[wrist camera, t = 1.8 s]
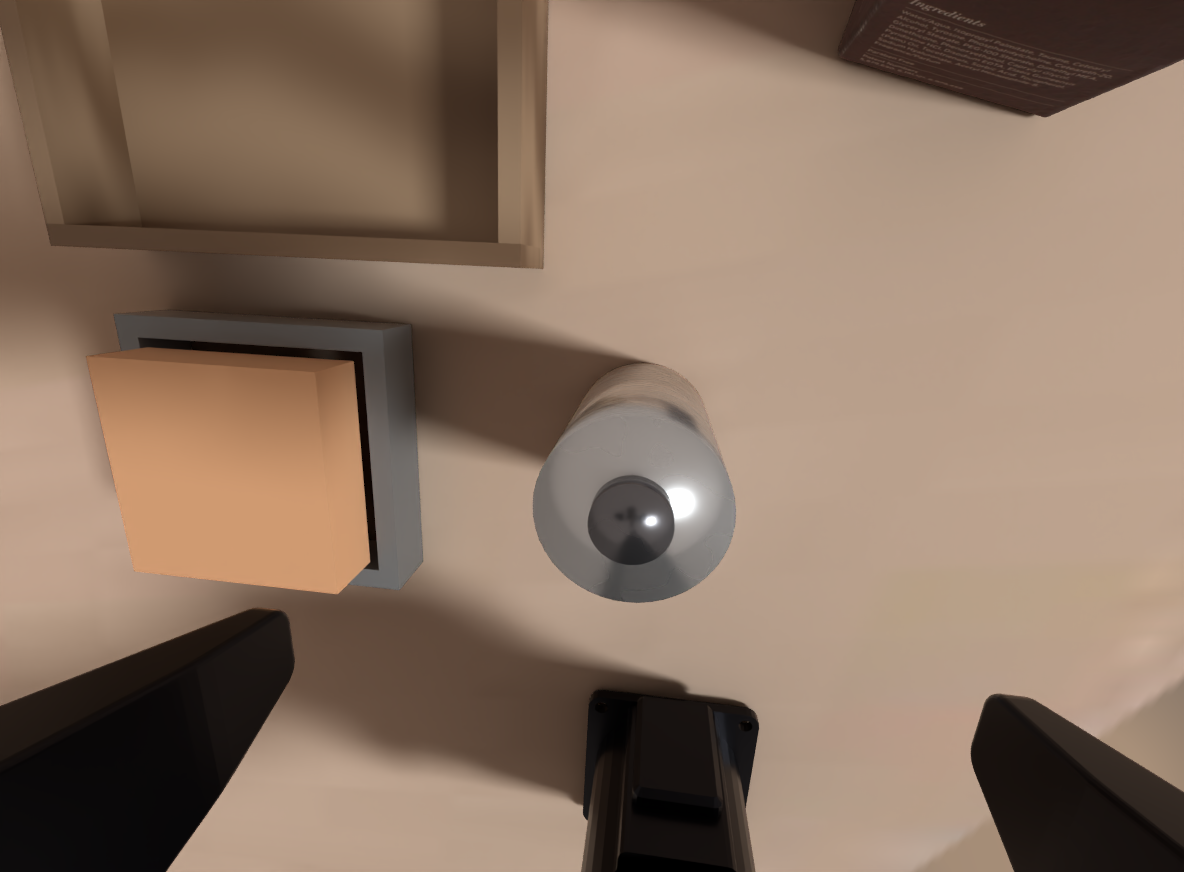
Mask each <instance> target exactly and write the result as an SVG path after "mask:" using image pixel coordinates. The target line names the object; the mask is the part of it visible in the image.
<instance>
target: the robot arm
mask: <svg viewBox="0 0 1184 872" xmlns="http://www.w3.org/2000/svg"><path fill="white" fill-rule="evenodd" d="M294 662H295V659H294V651H293V644H292V637H291V629H290V622H289V618H288V616H287V614H286V613H285V612H283V611H281V610H276V609H267V608H251V609H248V610H246V611H243V612H241V613H238V614H236V615H233V616H230V617H228V618H225V619H223V620H220V621H218V622H215V623H212V624H210V625H207V626H205V627H202V628H200V629H197V630H194V631H192V632H189V633H187V634H184V635H182V636H179V637H176V638H174V639H171V640H169V641H166V642H164V643H161V644H158V645H156V646H153V647H151V648H148V649H146V650H143V651H140V652H138V653H135V654H133V655H130V656H128V657H125V658H122V659H120V660H117V661H115V662H112V663H110V664H107V665H104V666H102V667H99V668H97V669H94V670H92V671H89V672H86V673H84V674H81V675H79V676H76V677H74V678H71V679H68V680H66V681H63V682H61V683H58V684H56V685H53V686H50V687H48V688H45V689H43V690H40V691H38V692H35V693H32V694H30V695H27V696H25V697H22V698H20V699H17V700H14V701H12V702H9V703H7V704H4V705H2V706H0V872H166V871H167V870H168V868H169V867H170V865H171V864H172V863H173V861H174V860H175V858H176V857H177V856H178V854H179V853H180V851H181V850H182V849H183V847H184V846H185V844H186V843H187V842H188V840H189V839H190V837H191V836H192V835H193V833H194V832H195V830H196V829H197V828H198V826H199V825H200V823H201V822H202V821H203V819H204V818H205V816H206V815H207V814H208V812H209V811H210V809H211V808H212V806H213V805H214V803H215V802H216V800H217V799H218V798H219V796H220V795H221V793H222V792H223V790H224V788H225V787H226V785H227V784H228V782H229V781H230V779H231V777H232V776H233V774H234V773H235V771H236V769H237V768H238V766H239V764H240V763H241V761H242V759H243V758H244V756H245V754H246V753H247V751H248V749H249V747H250V746H251V744H252V742H253V741H254V739H255V737H256V736H257V734H258V732H259V731H260V729H261V727H262V726H263V724H264V722H265V721H266V719H267V717H268V716H269V714H270V712H271V711H272V709H273V707H274V706H275V704H276V702H277V701H278V699H279V697H280V696H281V694H282V692H283V691H284V689H285V687H286V685H287V684H288V682H289V680H290V678H291V676H292V673H293V669H294ZM600 702H602V703H605V704H606V705H600V704H598V703H600ZM742 721H749V722H748V723H740V722H742ZM758 731H759V723H758V719H757V715H756V713H755V712H754V711H753V710H751V709H749V708H745V707H737V706H729V705H721V704H713V703H705V702H697V701H689V700H681V699H673V698H665V697H657V696H649V695H641V694H633V693H625V692H617V691H609V690H597V691H595V692H593V693H592V694H591V697H590V702H589V711H588V730H587V748H586V767H585V785H584V804H583V815H584V817H585V818H586V820H588V824H587V832H586V839H585V847H584V855H583V862H582V870H581V872H755V865H754V859H753V853H752V847H751V840H750V834H749V828H748V822H747V815H746V809H745V808H746V802H747V796H748V790H749V784H750V778H751V773H752V767H753V761H754V755H755V749H756V743H757V737H758ZM971 761H972V765H973V769H974V772H975V774H976V777H977V779H978V782H979V784H980V787H981V789H982V792H983V794H984V797H985V799H986V802H987V804H988V807H989V809H990V812H991V814H992V817H993V819H994V822H995V825H996V827H997V829H998V832H999V835H1000V837H1001V840H1002V842H1003V844H1004V847H1005V849H1006V852H1007V855H1008V857H1009V860H1010V862H1011V865H1012V867H1013V870H1014V872H1184V792H1183V791H1181V790H1180V789H1178V788H1176V787H1175V786H1173V785H1171V784H1170V783H1168V782H1167V781H1165V780H1163V779H1162V778H1160V777H1158V776H1157V775H1155V774H1154V773H1152V772H1150V771H1149V770H1147V769H1145V768H1144V767H1142V766H1140V765H1139V764H1137V763H1136V762H1134V761H1133V760H1131V759H1129V758H1127V757H1126V756H1124V755H1123V754H1121V753H1120V752H1118V751H1116V750H1115V749H1113V748H1112V747H1110V746H1108V745H1107V744H1105V743H1103V742H1102V741H1100V740H1099V739H1097V738H1095V737H1094V736H1092V735H1091V734H1089V733H1087V732H1086V731H1084V730H1082V729H1081V728H1079V727H1078V726H1076V725H1074V724H1073V723H1071V722H1069V721H1068V720H1066V719H1065V718H1063V717H1061V716H1060V715H1058V714H1057V713H1055V712H1053V711H1052V710H1050V709H1048V708H1047V707H1045V706H1044V705H1042V704H1040V703H1039V702H1037V701H1035V700H1033V699H1031V698H1028V697H1023V696H1014V695H1005V694H993V695H991V696H989V697H988V698H987V699H986V701H985V703H984V706H983V710H982V713H981V716H980V719H979V722H978V725H977V729H976V732H975V735H974V738H973V741H972V745H971Z"/></svg>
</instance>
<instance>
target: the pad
mask: <svg viewBox="0 0 1184 872" xmlns="http://www.w3.org/2000/svg"><path fill="white" fill-rule="evenodd" d="M86 359H87V363H88V368H89V372H90V377H91V381H92V385H93V390H94V394H95V399H96V403H97V408H98V412H99V417H100V421H101V426H102V430H103V434H104V439H105V443H106V448H107V452H108V457H109V461H110V466H111V470H112V474H113V479H114V483H115V488H116V492H117V497H118V501H119V506H120V510H121V514H122V519H123V523H124V528H125V532H126V537H127V541H128V546H129V550H130V555H131V559H132V563H133V568H134V571H137V572H146V573H154V574H163V575H172V576H181V577H190V578H199V579H207V580H216V581H225V582H234V583H243V584H252V585H261V586H269V587H278V588H287V589H296V590H305V591H314V592H323V593H331V594H339V593H340V592H341V591H342V590H343V589H344V588H345V587H346V586H347V585H348V584H349V583H350V582H351V581H352V580H353V579H354V578H355V577H356V576H357V575H358V574H359V573H360V572H361V571H362V570H363V569H364V568H365V567H366V566H367V565H368V564H369V563H370V553H369V541H368V529H367V517H366V504H365V492H364V480H363V468H362V456H361V443H360V431H359V419H358V407H357V395H356V382H355V370H354V361H345V360H330V359H315V358H300V357H285V356H271V355H256V354H241V353H226V352H211V351H196V350H181V349H167V348H152V347H146V348H139V349H132V350H125V351H119V352H112V353H105V354H98V355H91V356H86Z"/></svg>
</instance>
